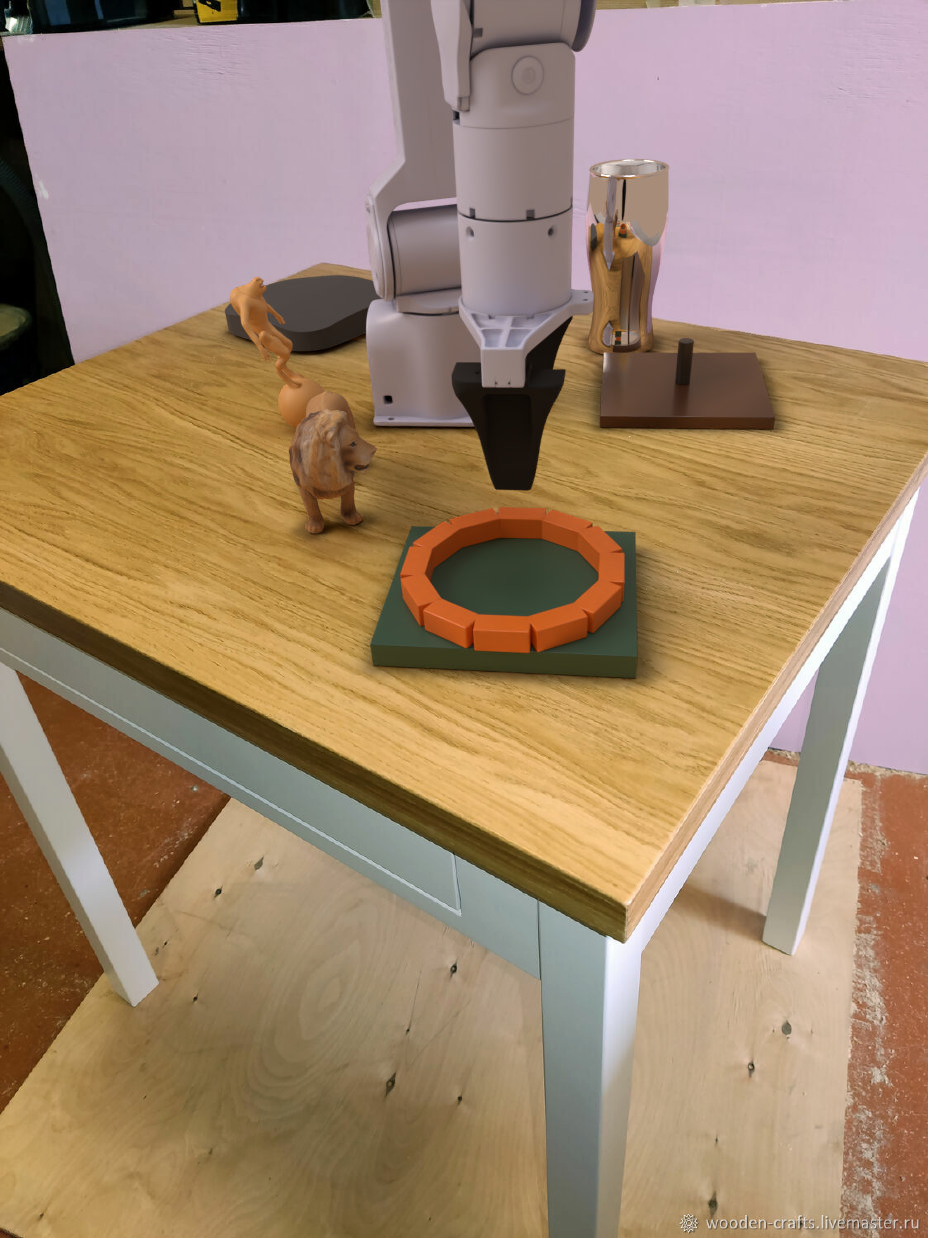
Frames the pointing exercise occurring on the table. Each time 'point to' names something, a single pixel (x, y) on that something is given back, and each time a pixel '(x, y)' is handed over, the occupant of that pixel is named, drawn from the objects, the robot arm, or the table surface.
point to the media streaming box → (315, 310)
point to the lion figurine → (328, 458)
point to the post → (684, 390)
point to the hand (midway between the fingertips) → (519, 454)
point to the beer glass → (625, 250)
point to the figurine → (274, 349)
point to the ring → (514, 630)
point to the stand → (512, 609)
